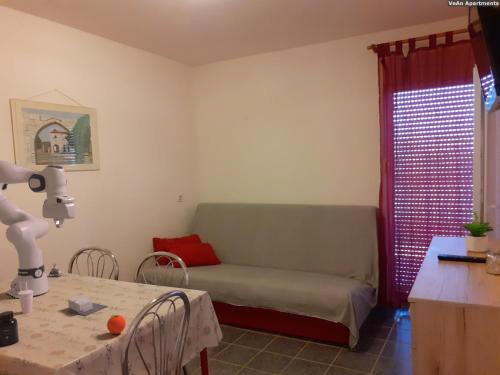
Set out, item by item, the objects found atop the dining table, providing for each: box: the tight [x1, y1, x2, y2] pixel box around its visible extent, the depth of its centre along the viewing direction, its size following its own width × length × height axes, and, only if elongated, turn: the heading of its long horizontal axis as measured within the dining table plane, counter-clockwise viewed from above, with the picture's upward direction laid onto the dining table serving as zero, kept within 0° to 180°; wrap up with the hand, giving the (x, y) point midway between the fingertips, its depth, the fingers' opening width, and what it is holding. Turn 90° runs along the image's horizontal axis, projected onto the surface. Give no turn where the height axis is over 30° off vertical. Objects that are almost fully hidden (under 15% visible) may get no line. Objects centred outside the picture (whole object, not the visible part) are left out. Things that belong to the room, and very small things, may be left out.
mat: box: [66, 302, 108, 317], centre depth 180 cm, size 13×12×1 cm
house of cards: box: [48, 262, 63, 277], centre depth 245 cm, size 9×9×8 cm
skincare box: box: [67, 295, 93, 313], centre depth 180 cm, size 6×4×12 cm
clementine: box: [106, 314, 127, 335], centre depth 152 cm, size 8×7×7 cm
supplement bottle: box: [0, 310, 20, 348], centre depth 146 cm, size 7×7×12 cm
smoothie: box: [18, 282, 34, 314], centre depth 179 cm, size 6×6×14 cm
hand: (59, 227), depth 187 cm, fingers closed
